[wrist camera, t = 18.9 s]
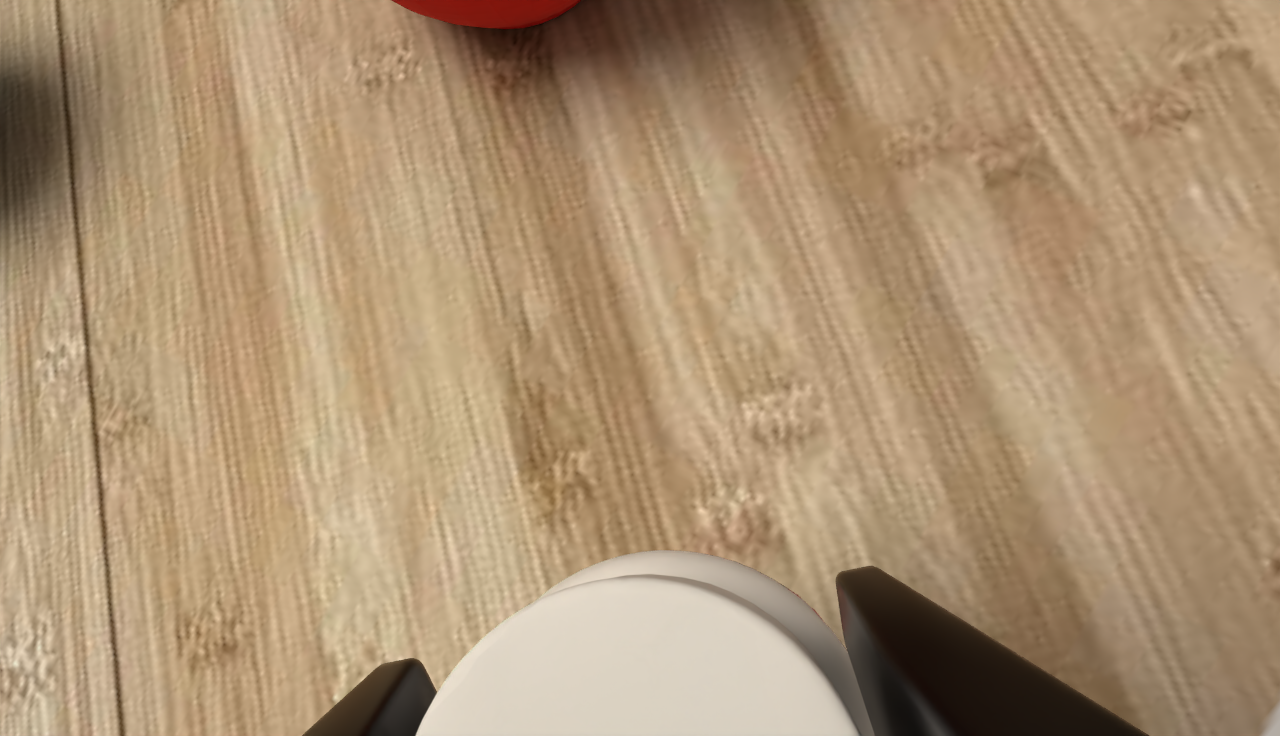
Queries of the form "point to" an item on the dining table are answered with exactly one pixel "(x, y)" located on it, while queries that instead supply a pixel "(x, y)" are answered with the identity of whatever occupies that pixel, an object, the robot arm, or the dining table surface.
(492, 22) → the ceramic cup
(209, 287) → the dining table surface
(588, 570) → the pill bottle
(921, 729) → the robot arm
